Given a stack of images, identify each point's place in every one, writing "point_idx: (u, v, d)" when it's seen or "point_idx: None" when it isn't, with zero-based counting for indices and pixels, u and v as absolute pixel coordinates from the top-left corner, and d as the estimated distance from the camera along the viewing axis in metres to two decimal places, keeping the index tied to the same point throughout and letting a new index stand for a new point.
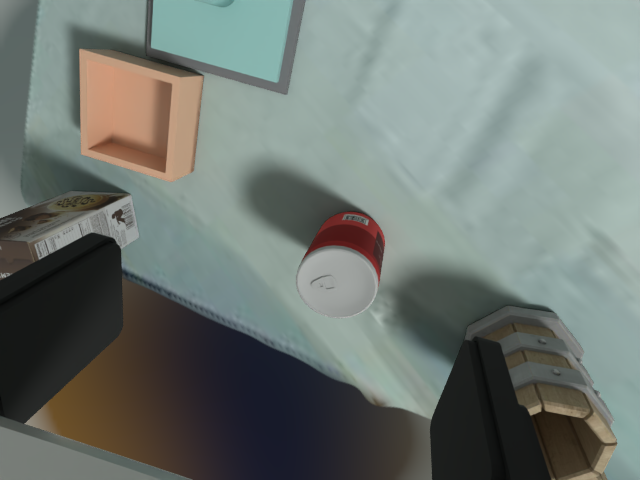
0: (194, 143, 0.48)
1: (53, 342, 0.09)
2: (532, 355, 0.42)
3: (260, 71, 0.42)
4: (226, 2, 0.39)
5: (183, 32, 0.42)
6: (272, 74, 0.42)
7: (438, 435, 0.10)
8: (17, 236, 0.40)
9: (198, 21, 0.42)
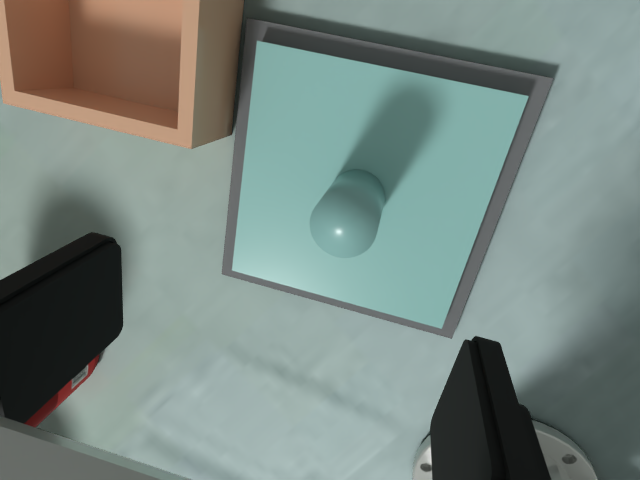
0: None
1: (53, 342, 0.09)
2: None
3: (243, 248, 0.27)
4: None
5: (288, 117, 0.23)
6: (242, 266, 0.27)
7: (438, 435, 0.10)
8: None
9: (307, 149, 0.23)
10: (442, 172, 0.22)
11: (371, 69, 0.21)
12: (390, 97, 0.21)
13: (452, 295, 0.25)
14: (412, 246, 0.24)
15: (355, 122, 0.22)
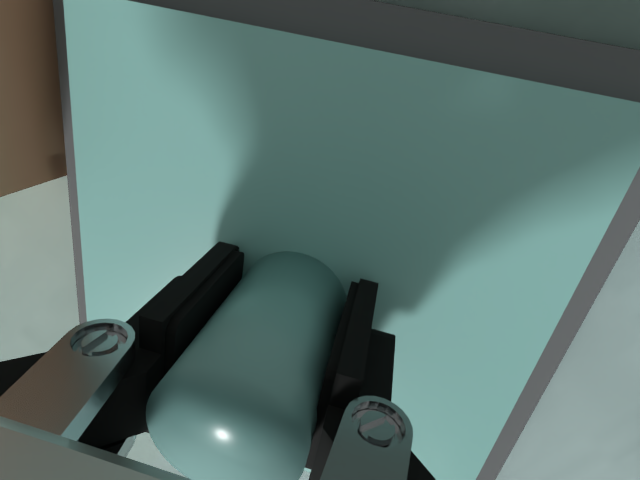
0: None
1: None
2: None
3: None
4: None
5: (147, 148, 0.11)
6: None
7: None
8: None
9: (191, 211, 0.12)
10: (461, 264, 0.11)
11: (307, 48, 0.09)
12: (350, 110, 0.10)
13: (476, 472, 0.13)
14: (401, 390, 0.13)
15: (280, 161, 0.11)
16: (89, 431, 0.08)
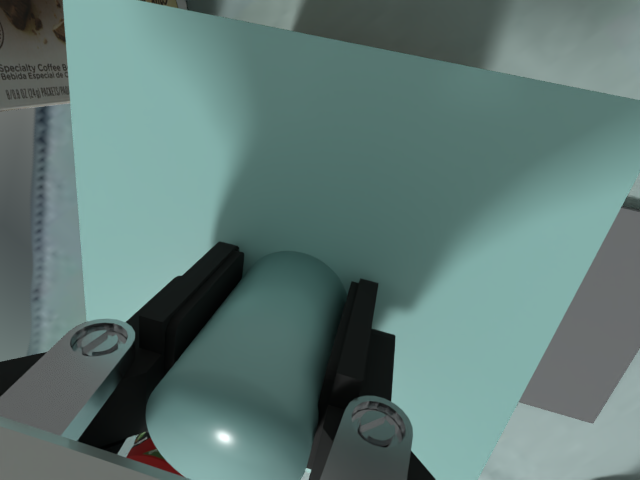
0: None
1: None
2: None
3: None
4: None
5: (147, 147, 0.11)
6: None
7: None
8: None
9: (191, 210, 0.12)
10: (462, 264, 0.11)
11: (308, 46, 0.09)
12: (351, 108, 0.10)
13: (477, 473, 0.13)
14: (402, 390, 0.13)
15: (280, 160, 0.11)
16: (89, 431, 0.08)
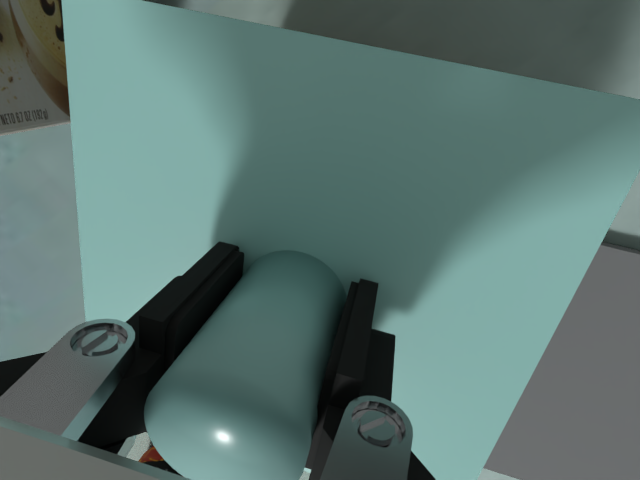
0: None
1: None
2: None
3: None
4: None
5: (146, 147, 0.11)
6: None
7: None
8: None
9: (190, 210, 0.12)
10: (462, 263, 0.11)
11: (307, 44, 0.09)
12: (350, 107, 0.10)
13: (476, 473, 0.13)
14: (401, 390, 0.13)
15: (279, 159, 0.11)
16: (89, 431, 0.08)
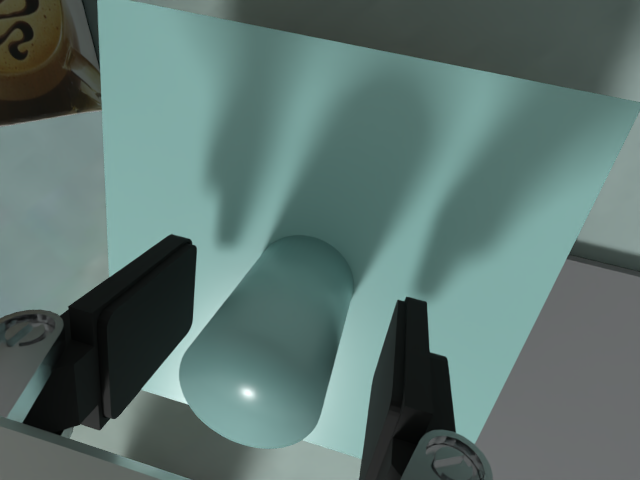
0: None
1: (146, 336, 0.10)
2: None
3: None
4: None
5: (171, 141, 0.12)
6: None
7: (374, 387, 0.11)
8: None
9: (211, 198, 0.13)
10: (458, 245, 0.12)
11: (319, 48, 0.11)
12: (357, 104, 0.11)
13: (472, 442, 0.14)
14: None
15: (293, 151, 0.12)
16: (25, 423, 0.08)
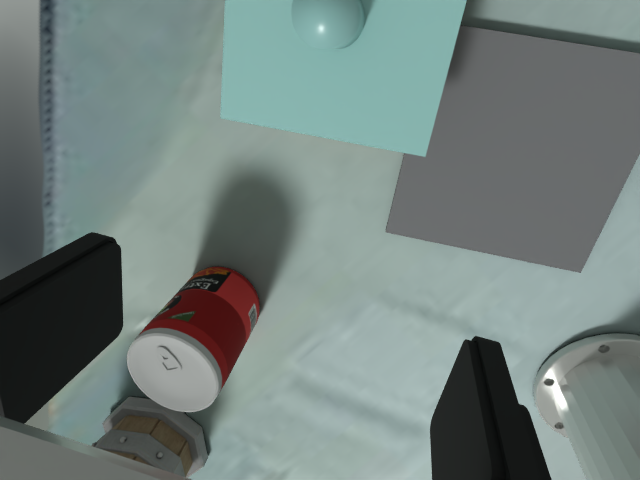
0: None
1: (53, 342, 0.09)
2: None
3: (230, 92, 0.27)
4: None
5: None
6: (230, 112, 0.28)
7: (438, 435, 0.10)
8: None
9: None
10: None
11: None
12: None
13: (434, 118, 0.26)
14: (393, 68, 0.25)
15: None
16: None
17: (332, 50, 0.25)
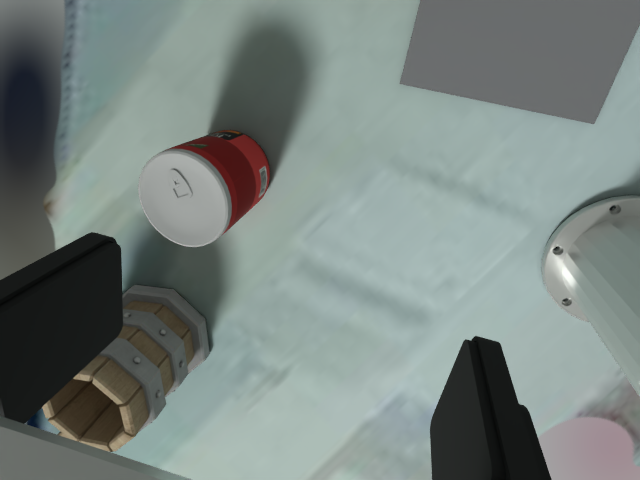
0: None
1: (53, 342, 0.09)
2: (166, 364, 0.45)
3: None
4: None
5: None
6: None
7: (438, 435, 0.10)
8: None
9: None
10: None
11: None
12: None
13: None
14: None
15: None
16: None
17: None
